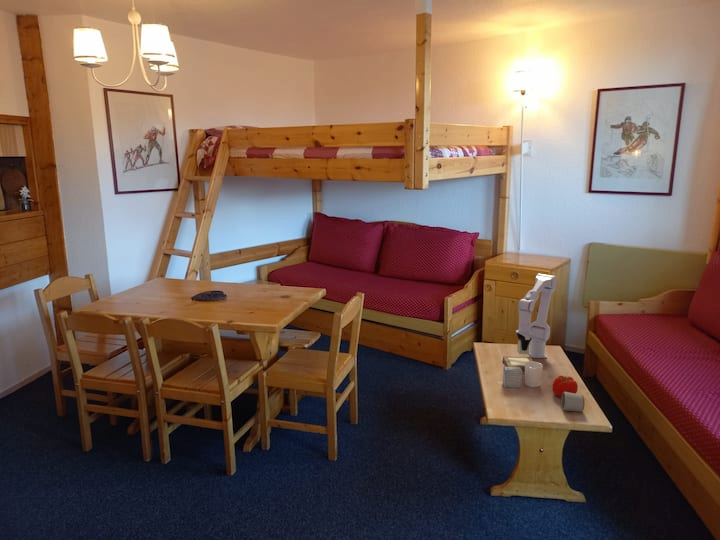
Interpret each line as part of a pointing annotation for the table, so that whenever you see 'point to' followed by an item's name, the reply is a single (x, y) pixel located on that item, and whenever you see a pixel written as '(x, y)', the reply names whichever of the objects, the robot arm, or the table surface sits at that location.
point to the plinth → (516, 362)
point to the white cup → (533, 373)
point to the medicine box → (512, 377)
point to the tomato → (564, 385)
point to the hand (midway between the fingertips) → (522, 348)
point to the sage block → (521, 348)
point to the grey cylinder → (572, 402)
